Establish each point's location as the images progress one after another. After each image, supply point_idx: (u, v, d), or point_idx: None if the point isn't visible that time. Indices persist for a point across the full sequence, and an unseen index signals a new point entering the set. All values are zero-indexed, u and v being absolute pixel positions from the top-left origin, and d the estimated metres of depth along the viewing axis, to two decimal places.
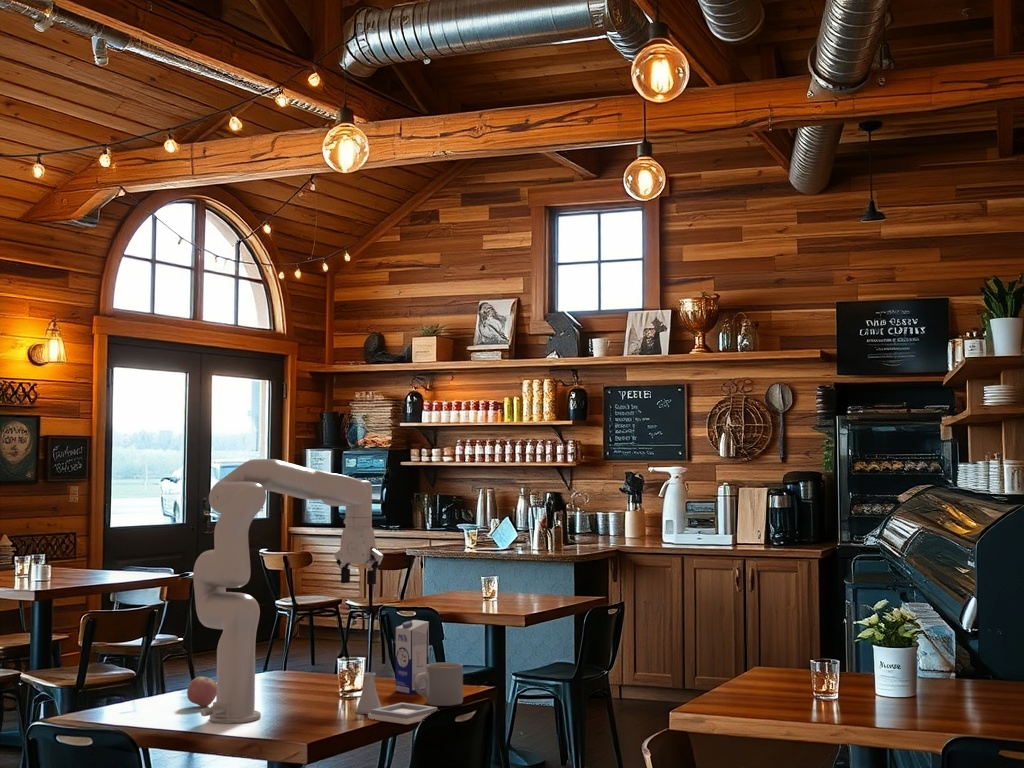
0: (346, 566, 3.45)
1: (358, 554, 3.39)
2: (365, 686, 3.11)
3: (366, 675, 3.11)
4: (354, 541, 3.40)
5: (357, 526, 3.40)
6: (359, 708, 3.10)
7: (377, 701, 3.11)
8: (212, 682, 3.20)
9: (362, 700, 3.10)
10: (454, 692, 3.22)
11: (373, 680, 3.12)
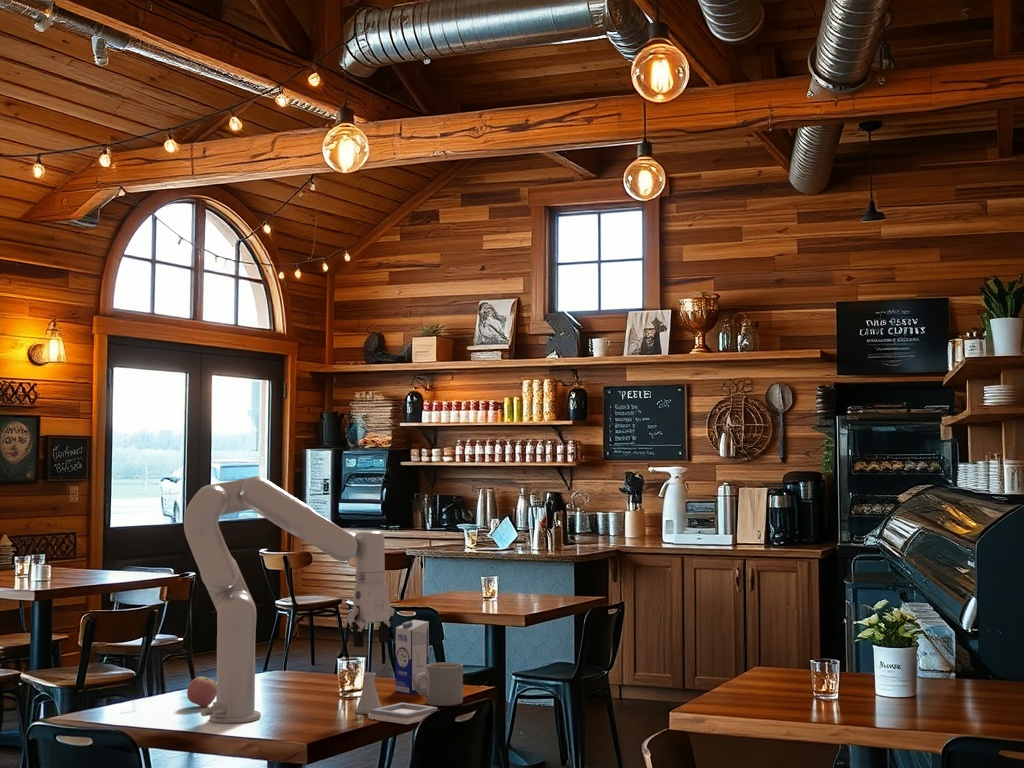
0: None
1: (384, 611, 3.15)
2: (365, 686, 3.11)
3: (366, 675, 3.11)
4: (380, 597, 3.14)
5: (384, 581, 3.15)
6: (359, 708, 3.10)
7: (377, 701, 3.11)
8: (212, 682, 3.20)
9: (362, 700, 3.10)
10: (454, 692, 3.22)
11: (373, 680, 3.12)
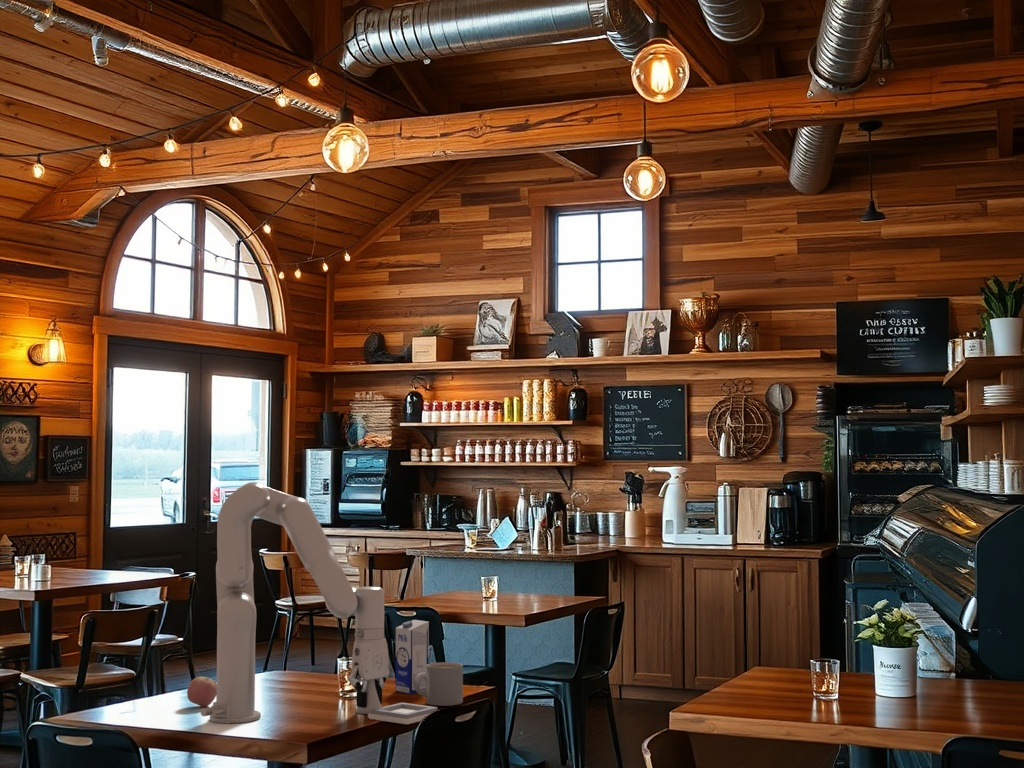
0: None
1: (383, 667, 3.13)
2: None
3: None
4: (379, 654, 3.12)
5: (383, 637, 3.14)
6: (359, 708, 3.10)
7: (377, 701, 3.11)
8: (212, 682, 3.20)
9: None
10: (454, 692, 3.22)
11: (373, 680, 3.12)
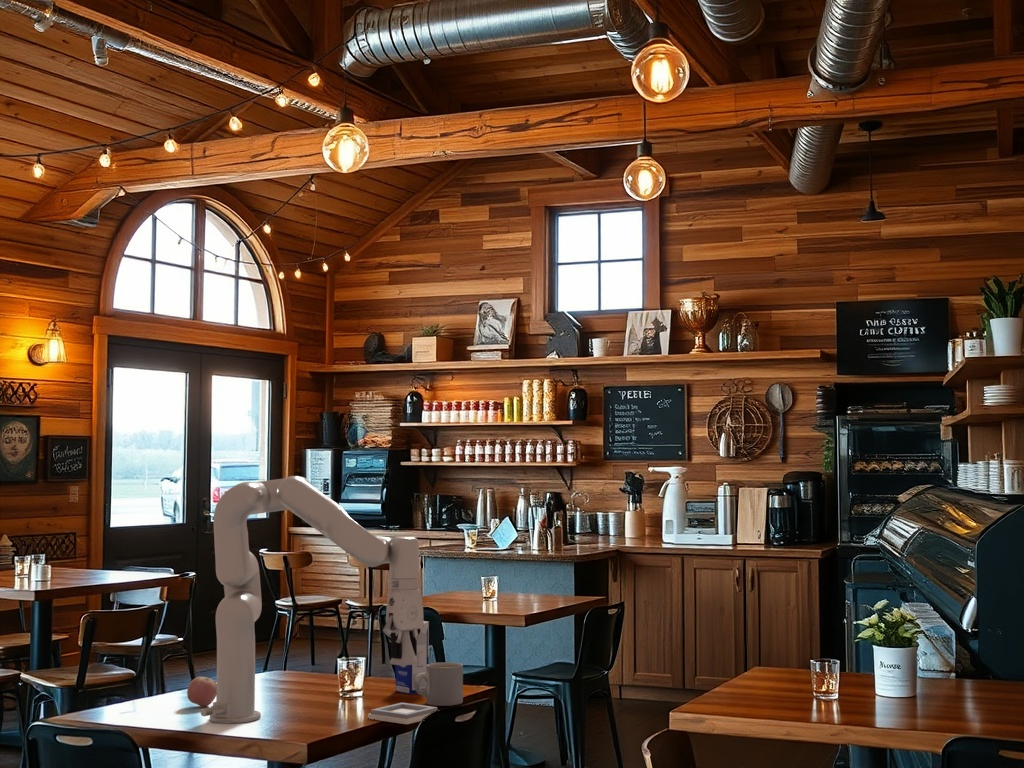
0: None
1: (418, 618, 3.07)
2: None
3: None
4: (414, 605, 3.07)
5: (418, 587, 3.08)
6: (394, 659, 3.04)
7: (412, 652, 3.05)
8: (212, 682, 3.20)
9: None
10: (454, 692, 3.22)
11: (408, 631, 3.06)
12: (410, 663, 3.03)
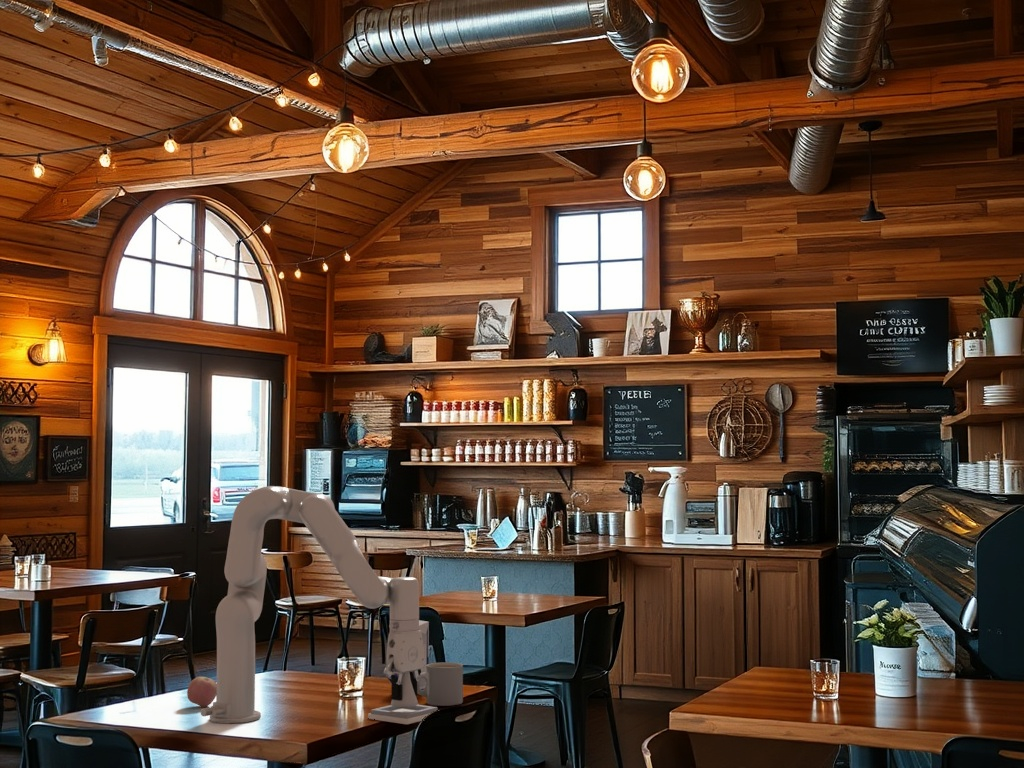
0: None
1: (418, 659, 3.06)
2: None
3: None
4: (415, 646, 3.06)
5: (418, 628, 3.07)
6: (394, 701, 3.03)
7: (412, 694, 3.04)
8: (212, 682, 3.20)
9: None
10: (454, 692, 3.22)
11: (408, 672, 3.05)
12: (411, 705, 3.02)
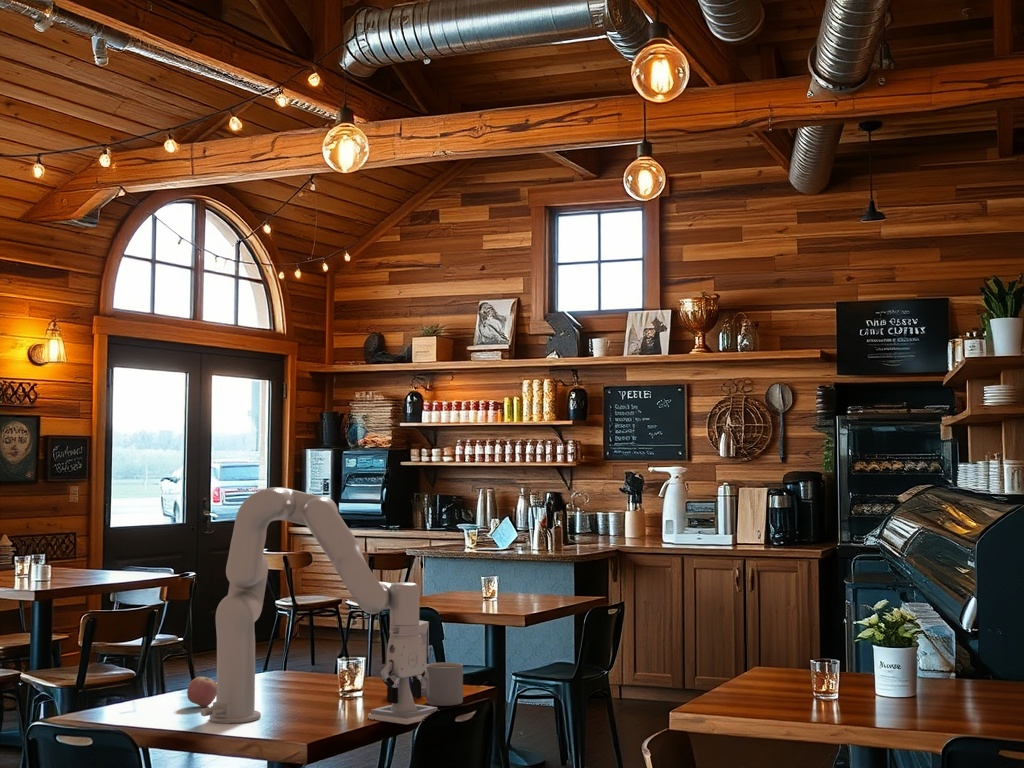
0: None
1: (418, 665, 3.06)
2: (399, 685, 3.05)
3: None
4: (415, 651, 3.05)
5: None
6: (393, 708, 3.03)
7: (411, 701, 3.04)
8: (212, 682, 3.20)
9: None
10: (454, 692, 3.22)
11: (407, 679, 3.05)
12: None
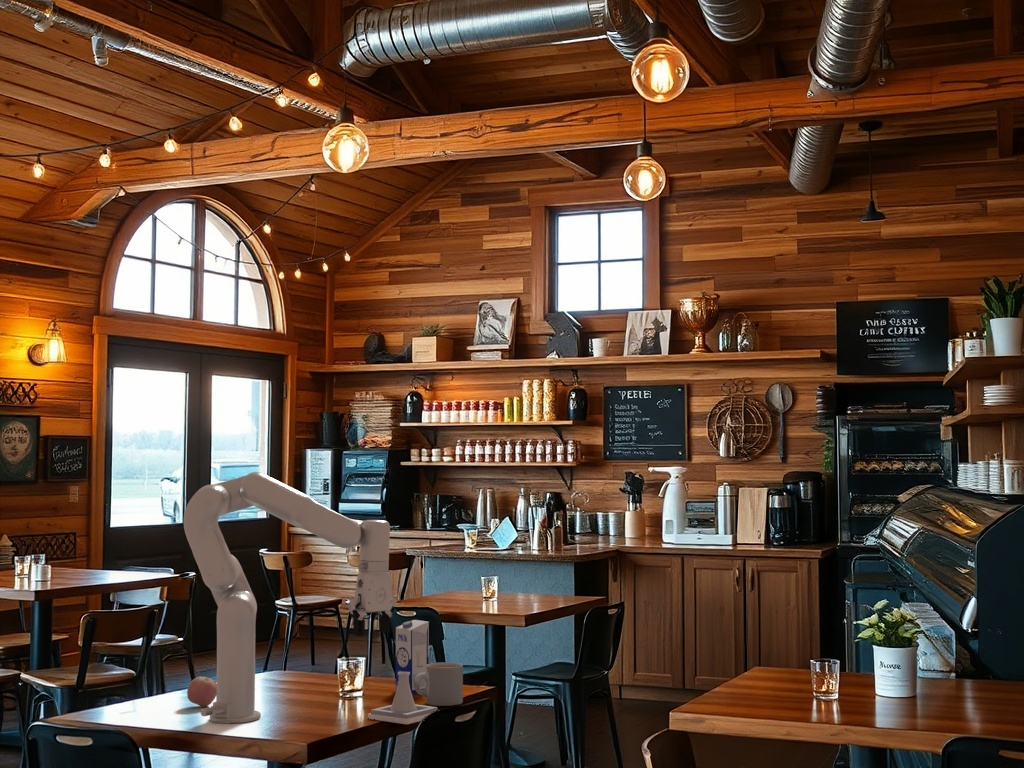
0: None
1: (386, 601, 3.12)
2: (399, 685, 3.05)
3: (400, 674, 3.05)
4: (383, 587, 3.11)
5: None
6: (393, 708, 3.03)
7: (411, 701, 3.04)
8: (212, 682, 3.20)
9: (396, 700, 3.04)
10: (454, 692, 3.22)
11: (407, 679, 3.05)
12: None
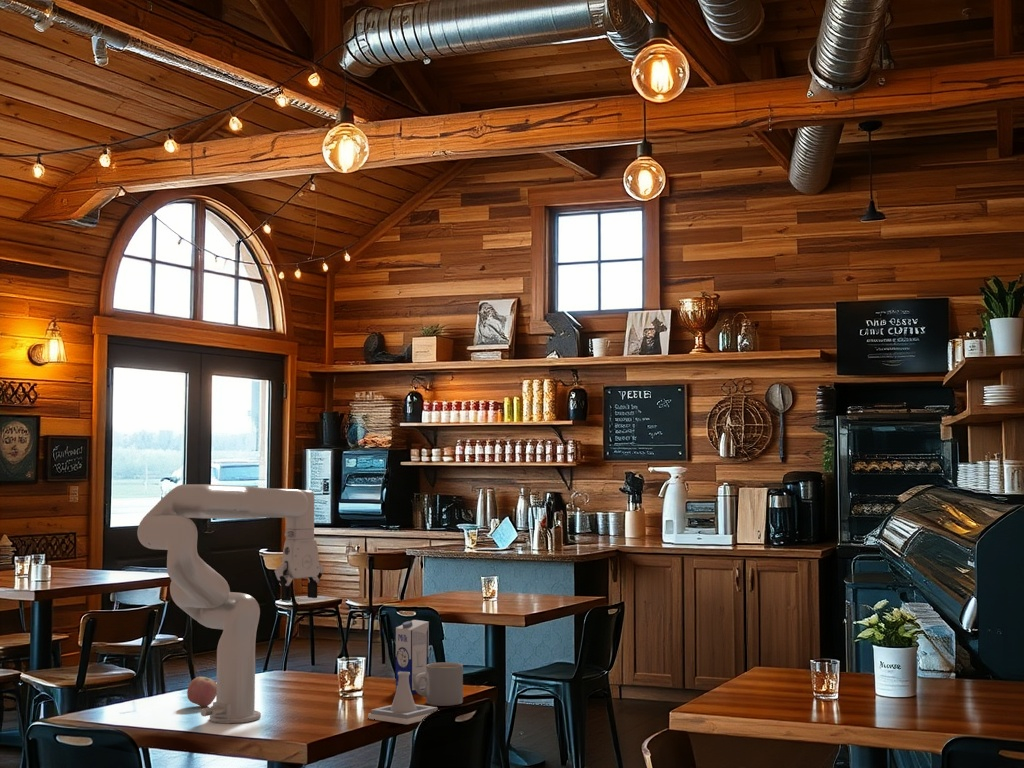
0: None
1: (313, 567, 3.25)
2: (399, 685, 3.05)
3: (400, 674, 3.05)
4: (309, 554, 3.24)
5: (313, 538, 3.25)
6: (393, 708, 3.03)
7: (411, 701, 3.04)
8: (212, 682, 3.20)
9: (396, 700, 3.04)
10: (454, 692, 3.22)
11: (407, 679, 3.05)
12: None
